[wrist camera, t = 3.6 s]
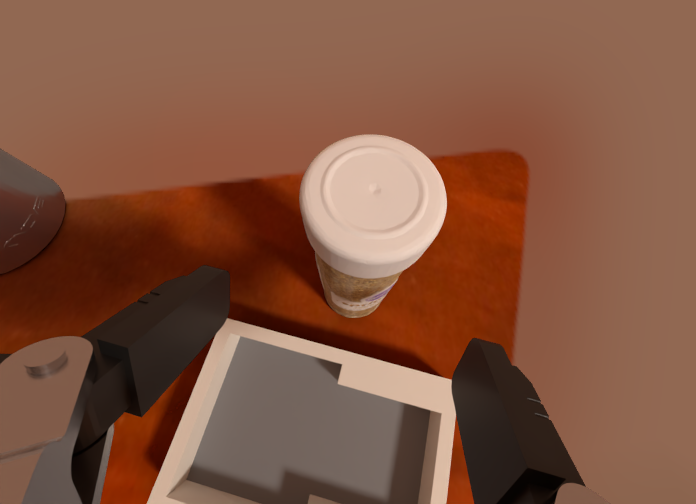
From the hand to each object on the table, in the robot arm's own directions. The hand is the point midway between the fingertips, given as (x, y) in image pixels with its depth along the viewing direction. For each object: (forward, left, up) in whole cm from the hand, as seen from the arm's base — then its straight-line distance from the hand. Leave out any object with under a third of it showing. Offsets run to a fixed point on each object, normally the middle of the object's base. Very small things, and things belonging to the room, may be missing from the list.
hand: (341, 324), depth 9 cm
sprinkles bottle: (0, +4, -11) cm, 12 cm away
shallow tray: (0, -6, -11) cm, 12 cm away
